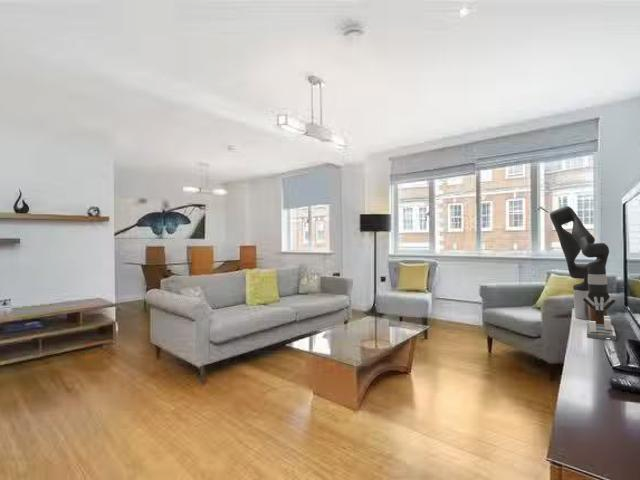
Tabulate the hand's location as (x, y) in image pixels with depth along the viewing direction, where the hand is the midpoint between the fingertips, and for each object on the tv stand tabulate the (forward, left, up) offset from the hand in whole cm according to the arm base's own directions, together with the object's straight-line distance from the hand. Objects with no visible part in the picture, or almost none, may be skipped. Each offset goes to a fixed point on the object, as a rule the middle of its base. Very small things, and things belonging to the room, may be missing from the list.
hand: (600, 317), depth 167 cm
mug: (-29, +7, -10) cm, 31 cm away
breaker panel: (-8, +2, -10) cm, 12 cm away
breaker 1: (0, -3, -7) cm, 8 cm away
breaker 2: (-15, +7, -7) cm, 18 cm away
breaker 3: (-7, +5, -7) cm, 11 cm away
